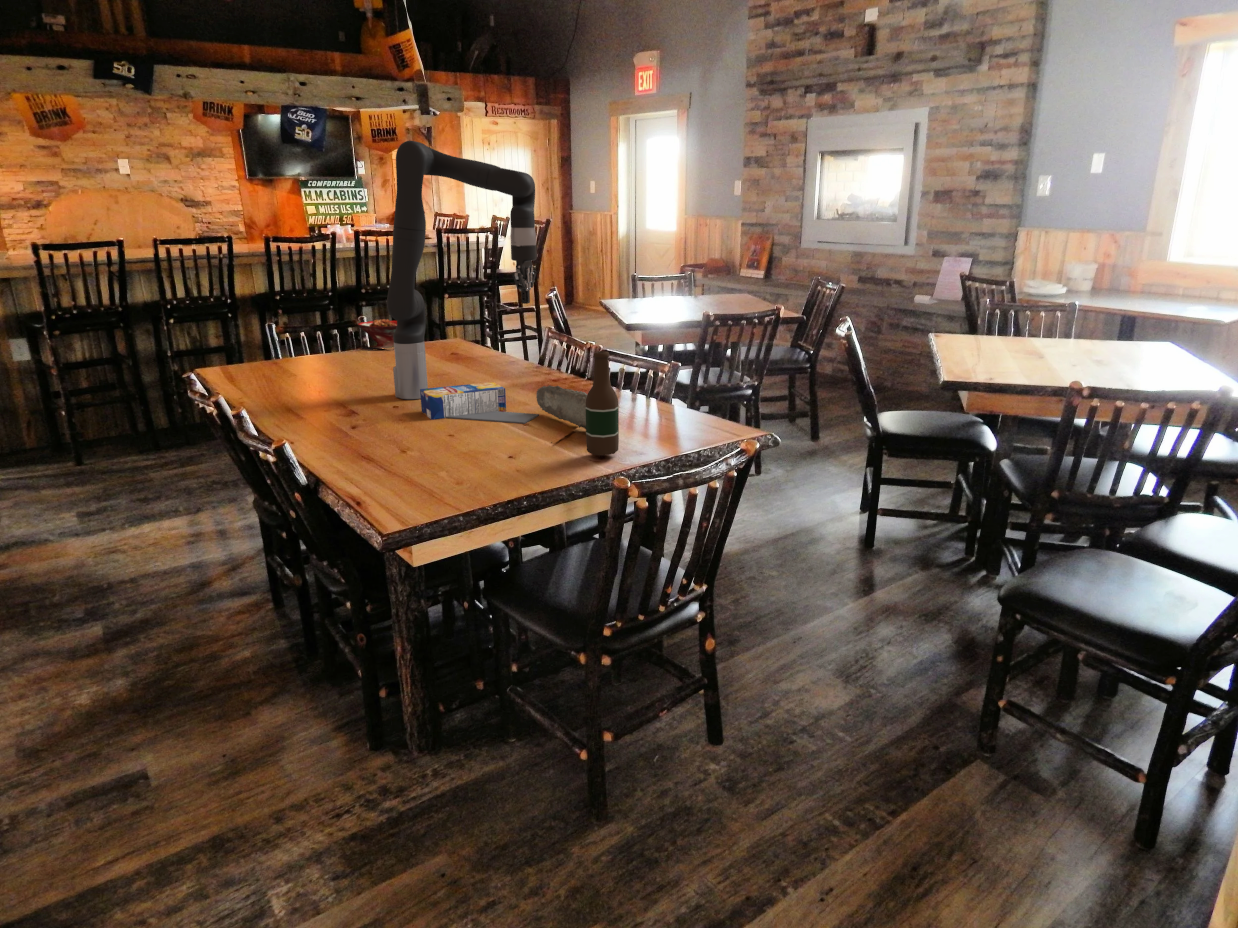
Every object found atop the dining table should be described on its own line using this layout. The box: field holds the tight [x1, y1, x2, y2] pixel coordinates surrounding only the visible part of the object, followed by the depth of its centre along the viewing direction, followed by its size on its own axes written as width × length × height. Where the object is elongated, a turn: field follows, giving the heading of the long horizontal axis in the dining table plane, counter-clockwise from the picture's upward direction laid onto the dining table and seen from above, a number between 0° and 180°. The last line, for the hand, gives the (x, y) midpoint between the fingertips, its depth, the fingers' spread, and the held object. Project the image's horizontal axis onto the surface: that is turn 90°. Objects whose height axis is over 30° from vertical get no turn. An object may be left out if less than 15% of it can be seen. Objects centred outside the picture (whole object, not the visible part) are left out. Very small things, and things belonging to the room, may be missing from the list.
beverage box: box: [420, 381, 507, 421], centre depth 238 cm, size 7×11×22 cm
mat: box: [445, 411, 540, 425], centre depth 232 cm, size 24×10×1 cm, turn 73°
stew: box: [356, 318, 397, 351], centre depth 343 cm, size 28×24×16 cm
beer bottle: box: [585, 350, 620, 456], centre depth 194 cm, size 8×8×24 cm
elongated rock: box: [535, 384, 588, 430], centre depth 222 cm, size 35×5×10 cm, turn 37°
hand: (525, 303), depth 248 cm, fingers closed
